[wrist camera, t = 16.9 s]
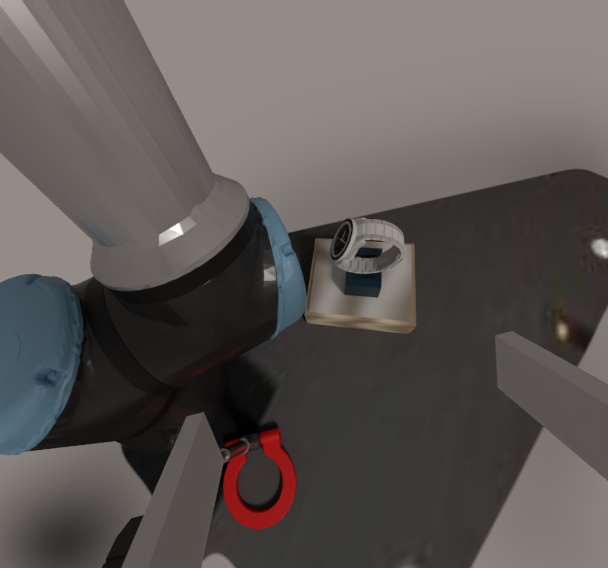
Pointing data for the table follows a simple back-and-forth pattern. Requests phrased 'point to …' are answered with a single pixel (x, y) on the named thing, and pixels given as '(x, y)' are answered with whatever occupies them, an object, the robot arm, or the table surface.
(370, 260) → the watch
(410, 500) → the table surface
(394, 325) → the plate
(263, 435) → the tow hook
